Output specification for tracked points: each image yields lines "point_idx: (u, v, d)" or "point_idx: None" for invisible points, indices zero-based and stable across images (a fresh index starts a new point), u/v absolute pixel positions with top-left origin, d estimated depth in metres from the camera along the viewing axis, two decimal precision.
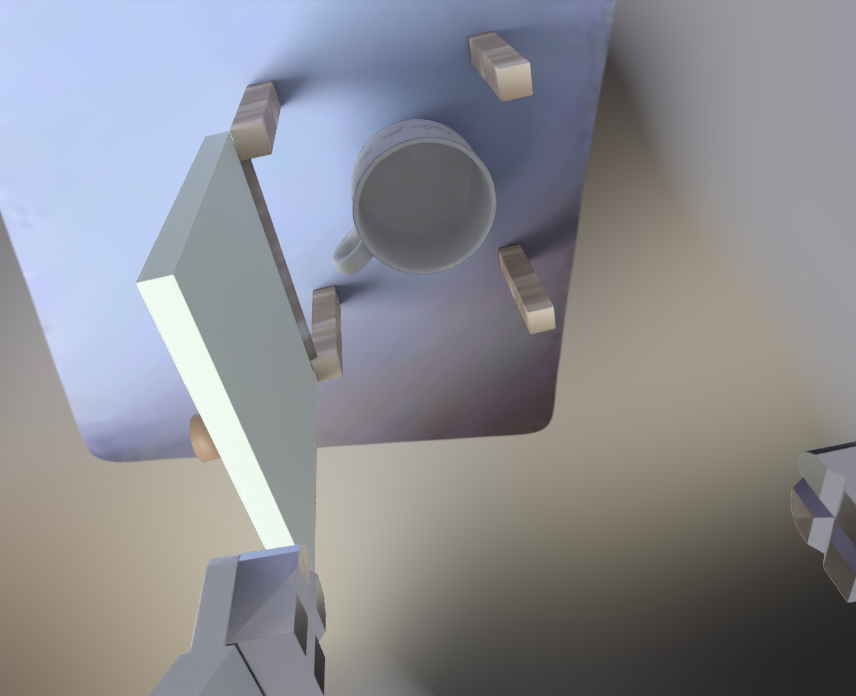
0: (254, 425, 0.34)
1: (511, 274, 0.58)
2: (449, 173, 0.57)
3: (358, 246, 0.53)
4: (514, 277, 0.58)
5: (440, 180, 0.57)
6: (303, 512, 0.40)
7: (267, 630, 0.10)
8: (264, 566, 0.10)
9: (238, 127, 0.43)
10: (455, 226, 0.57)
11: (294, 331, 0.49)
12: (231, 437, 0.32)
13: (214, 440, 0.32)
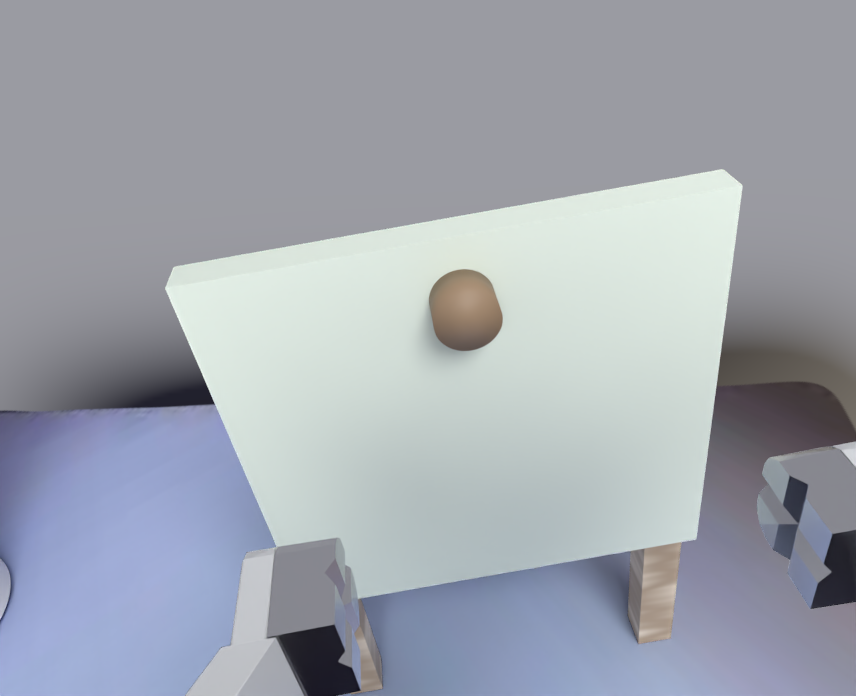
0: None
1: None
2: None
3: None
4: None
5: None
6: None
7: (307, 622, 0.10)
8: (301, 559, 0.10)
9: None
10: None
11: None
12: (406, 233, 0.24)
13: (407, 244, 0.24)
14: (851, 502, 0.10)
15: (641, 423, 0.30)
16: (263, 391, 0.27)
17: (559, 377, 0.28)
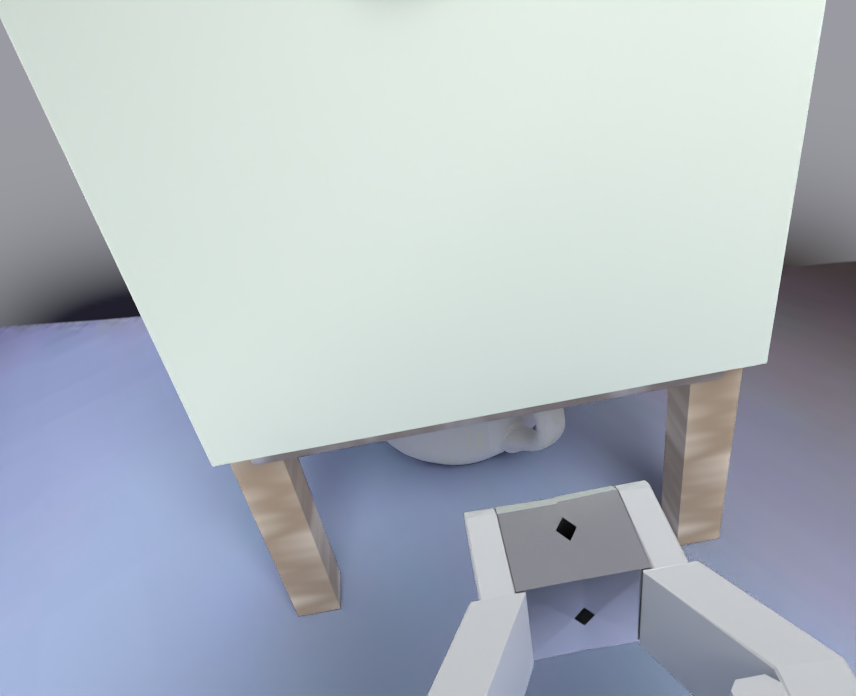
0: None
1: None
2: None
3: None
4: None
5: None
6: None
7: (554, 578, 0.10)
8: (527, 518, 0.10)
9: None
10: None
11: None
12: None
13: None
14: (610, 545, 0.10)
15: (698, 140, 0.20)
16: (99, 44, 0.17)
17: (573, 40, 0.18)
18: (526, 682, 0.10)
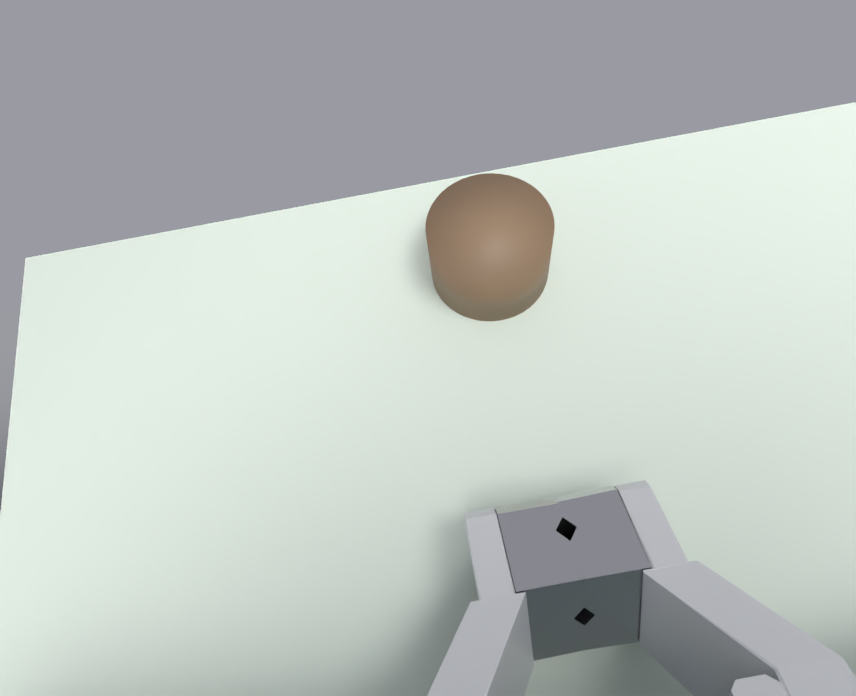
0: None
1: None
2: None
3: None
4: None
5: None
6: None
7: (554, 578, 0.10)
8: (527, 518, 0.10)
9: None
10: None
11: None
12: None
13: (396, 190, 0.16)
14: (611, 546, 0.10)
15: None
16: (103, 461, 0.13)
17: (729, 446, 0.12)
18: (526, 682, 0.10)
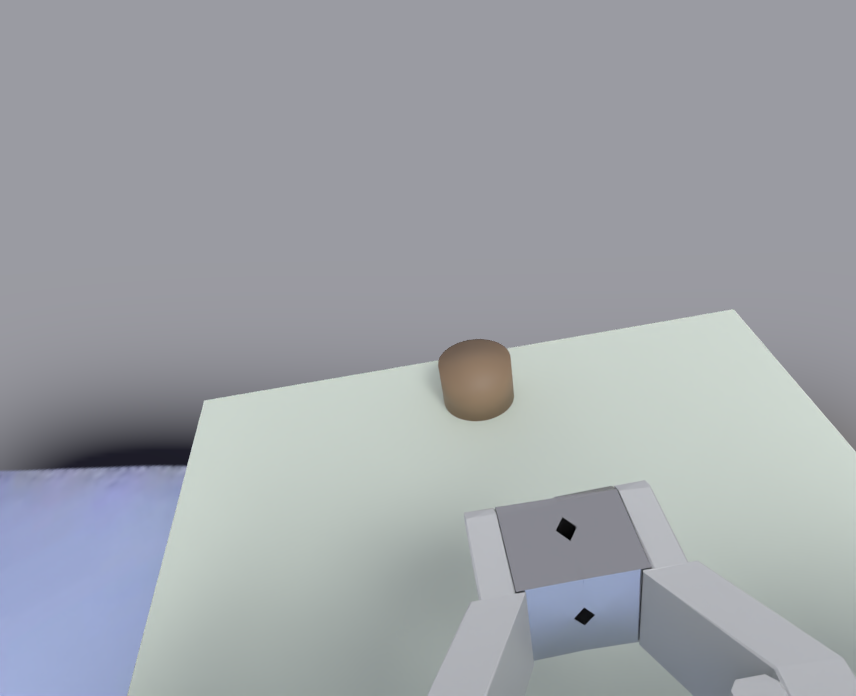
0: None
1: None
2: None
3: None
4: None
5: None
6: None
7: (554, 578, 0.10)
8: (526, 518, 0.10)
9: None
10: None
11: None
12: None
13: (426, 363, 0.26)
14: (610, 546, 0.10)
15: (798, 547, 0.17)
16: (238, 493, 0.22)
17: (619, 475, 0.20)
18: (526, 682, 0.10)
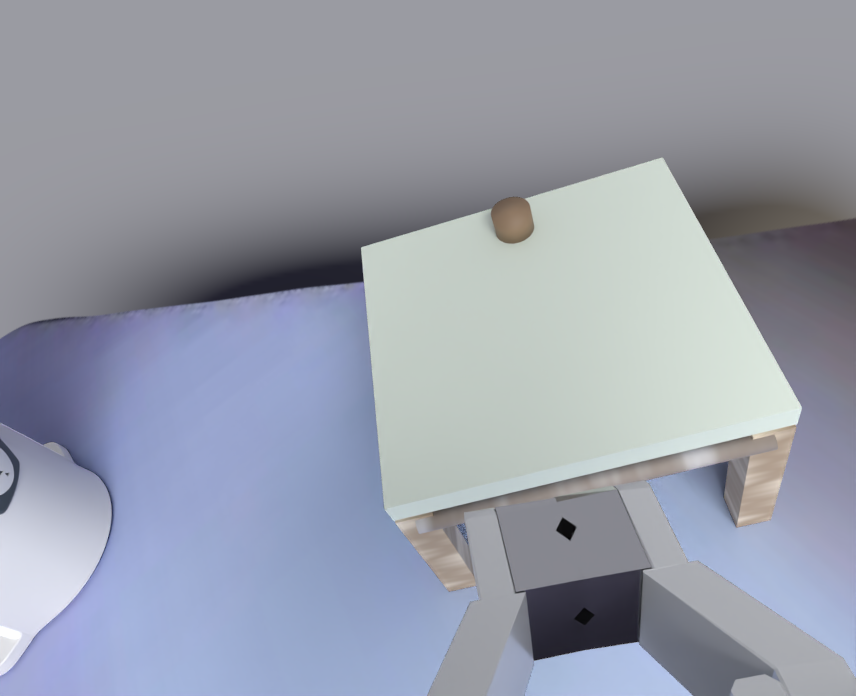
0: None
1: None
2: None
3: None
4: None
5: None
6: None
7: (554, 578, 0.10)
8: (527, 518, 0.10)
9: None
10: None
11: None
12: None
13: (483, 211, 0.45)
14: (610, 546, 0.10)
15: (669, 289, 0.37)
16: (396, 295, 0.43)
17: (588, 264, 0.40)
18: (526, 682, 0.10)
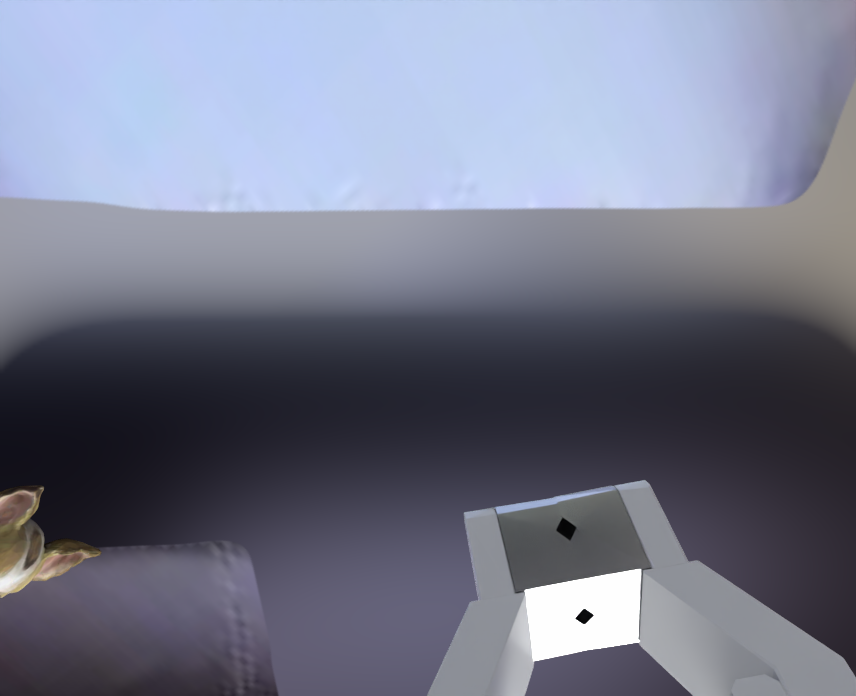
0: None
1: None
2: None
3: None
4: None
5: None
6: None
7: (554, 578, 0.10)
8: (527, 518, 0.10)
9: None
10: None
11: None
12: None
13: None
14: (611, 545, 0.10)
15: None
16: None
17: None
18: (526, 682, 0.10)
